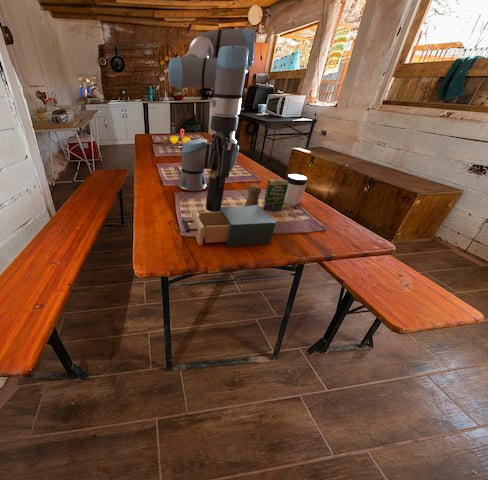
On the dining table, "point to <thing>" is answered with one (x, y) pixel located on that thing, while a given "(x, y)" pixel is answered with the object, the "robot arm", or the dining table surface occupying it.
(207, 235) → the drawer
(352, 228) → the dining table surface
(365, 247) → the dining table surface
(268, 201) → the coffee box
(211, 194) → the tin
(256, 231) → the cabinet
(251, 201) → the olive peanut shape
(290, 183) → the jar
